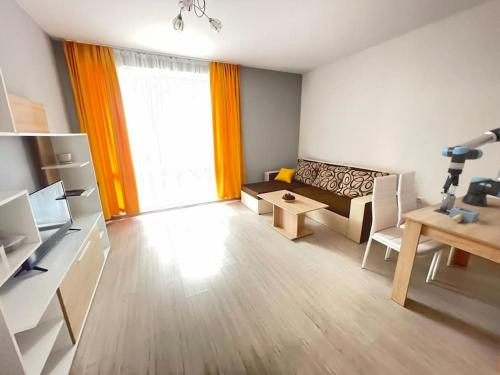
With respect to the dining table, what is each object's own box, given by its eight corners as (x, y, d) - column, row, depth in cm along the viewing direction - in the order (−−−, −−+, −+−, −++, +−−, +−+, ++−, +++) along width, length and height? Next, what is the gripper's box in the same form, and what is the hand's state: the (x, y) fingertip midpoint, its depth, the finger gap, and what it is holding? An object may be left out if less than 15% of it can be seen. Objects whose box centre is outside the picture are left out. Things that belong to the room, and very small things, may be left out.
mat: (438, 209, 163) (438, 208, 163) (451, 212, 157) (451, 212, 157) (433, 211, 160) (433, 210, 160) (446, 214, 153) (447, 214, 153)
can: (448, 207, 168) (453, 193, 165) (454, 210, 161) (459, 196, 158) (437, 206, 171) (441, 192, 167) (443, 209, 164) (447, 195, 160)
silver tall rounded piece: (437, 209, 162) (442, 191, 158) (449, 212, 156) (455, 193, 152) (434, 209, 161) (439, 191, 156) (447, 213, 154) (453, 194, 150)
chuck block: (455, 213, 156) (457, 206, 154) (477, 219, 146) (480, 211, 144) (443, 219, 145) (445, 211, 144) (466, 226, 135) (468, 218, 133)
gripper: (455, 165, 157) (448, 191, 164) (441, 169, 146) (434, 197, 152) (469, 167, 151) (461, 194, 157) (455, 171, 140) (447, 199, 146)
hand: (448, 195), depth 155 cm, fingers open, 13 cm apart
